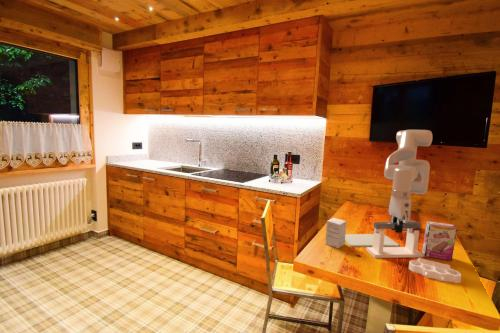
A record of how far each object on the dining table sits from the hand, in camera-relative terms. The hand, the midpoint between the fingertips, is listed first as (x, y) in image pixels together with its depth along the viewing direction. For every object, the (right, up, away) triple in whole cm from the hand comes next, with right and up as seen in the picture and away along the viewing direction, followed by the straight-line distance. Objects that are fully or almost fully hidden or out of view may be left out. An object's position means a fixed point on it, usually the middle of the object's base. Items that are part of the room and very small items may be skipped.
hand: (396, 230), depth 129 cm
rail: (0, +2, 0) cm, 2 cm away
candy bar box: (+19, -12, -1) cm, 22 cm away
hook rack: (-1, -11, +1) cm, 11 cm away
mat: (-7, -9, +16) cm, 19 cm away
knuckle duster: (+7, -15, -15) cm, 22 cm away
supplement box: (-26, -9, +10) cm, 30 cm away
